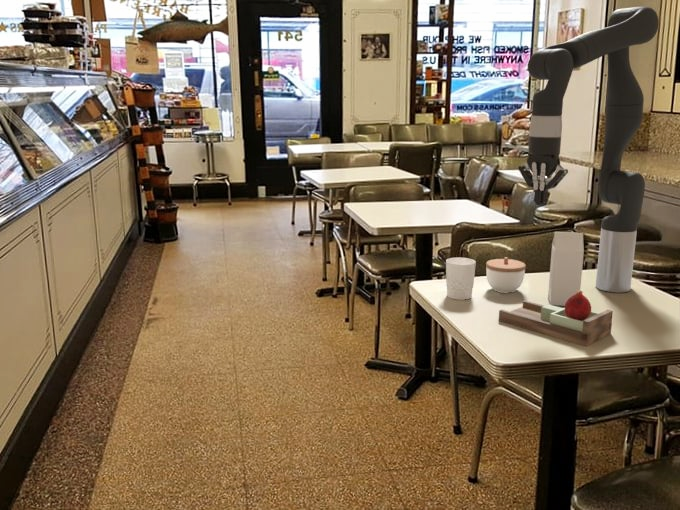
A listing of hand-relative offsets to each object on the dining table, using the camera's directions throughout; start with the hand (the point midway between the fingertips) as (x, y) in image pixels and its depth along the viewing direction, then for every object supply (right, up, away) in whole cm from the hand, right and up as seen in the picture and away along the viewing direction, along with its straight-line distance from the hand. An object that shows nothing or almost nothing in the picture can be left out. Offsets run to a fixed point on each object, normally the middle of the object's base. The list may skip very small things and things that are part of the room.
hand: (540, 204), depth 169 cm
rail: (+1, -30, -7) cm, 31 cm away
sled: (+4, -29, -10) cm, 31 cm away
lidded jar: (-4, -23, +22) cm, 32 cm away
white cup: (-17, -24, +16) cm, 34 cm away
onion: (+5, -29, -12) cm, 31 cm away
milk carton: (+9, -25, +11) cm, 29 cm away
